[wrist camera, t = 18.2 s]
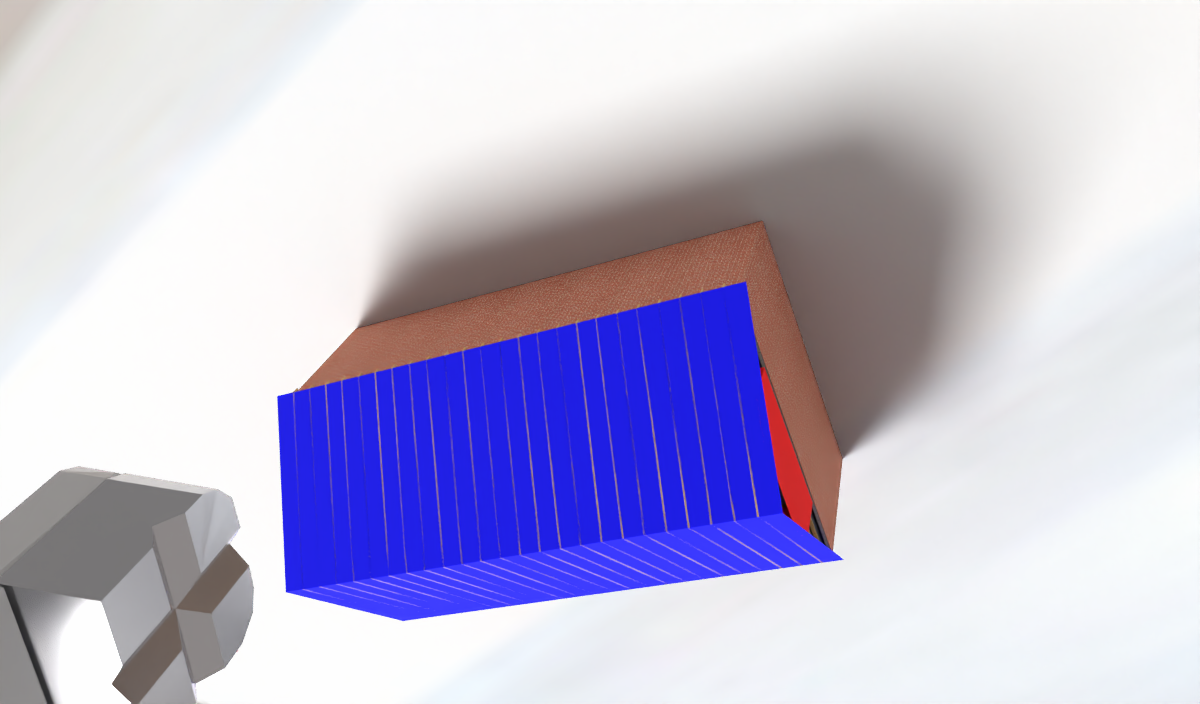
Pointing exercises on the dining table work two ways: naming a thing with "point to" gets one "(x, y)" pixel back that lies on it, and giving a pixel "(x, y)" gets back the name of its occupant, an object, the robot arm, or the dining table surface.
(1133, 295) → the dining table surface
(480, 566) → the house
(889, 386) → the dining table surface
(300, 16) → the dining table surface
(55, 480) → the robot arm
